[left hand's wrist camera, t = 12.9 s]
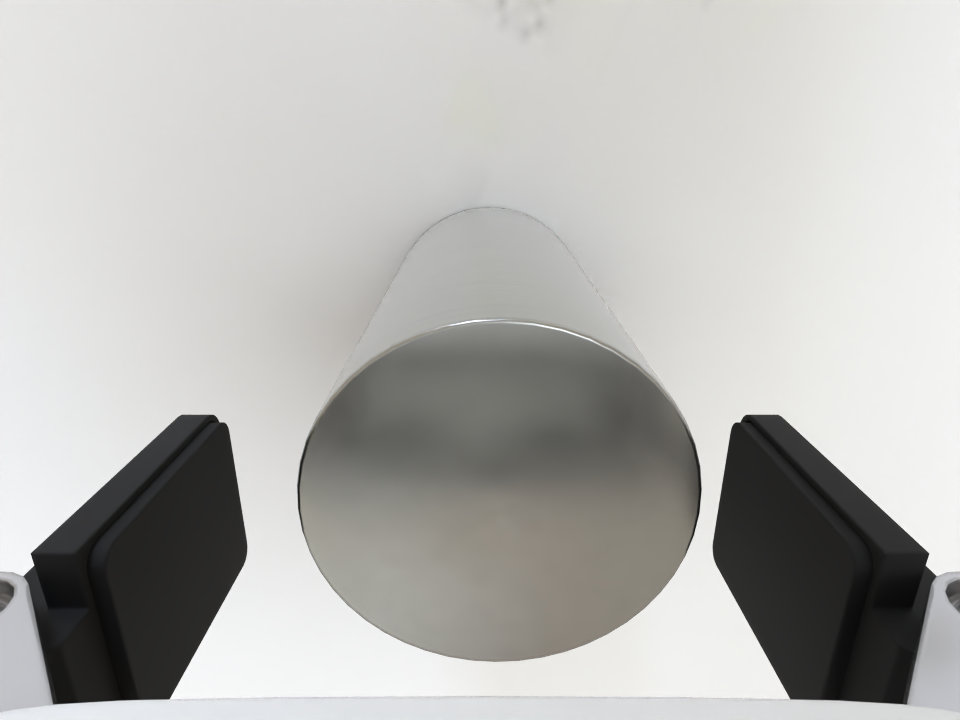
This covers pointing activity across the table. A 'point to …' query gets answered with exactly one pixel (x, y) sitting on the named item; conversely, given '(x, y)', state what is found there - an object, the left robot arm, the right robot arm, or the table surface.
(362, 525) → the can
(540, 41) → the table surface
